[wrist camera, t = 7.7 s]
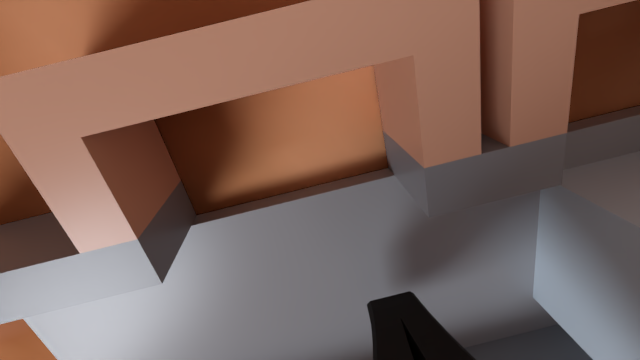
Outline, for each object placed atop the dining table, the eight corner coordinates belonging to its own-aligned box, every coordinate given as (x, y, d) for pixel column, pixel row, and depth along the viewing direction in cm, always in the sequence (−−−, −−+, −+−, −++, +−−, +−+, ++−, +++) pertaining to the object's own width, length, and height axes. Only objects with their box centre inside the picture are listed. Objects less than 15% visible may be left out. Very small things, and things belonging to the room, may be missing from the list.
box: (140, 433, 14) (103, 533, 11) (-114, 116, 8) (-325, 157, 5) (674, 300, 14) (772, 366, 11) (805, -111, 8) (1081, -190, 5)
